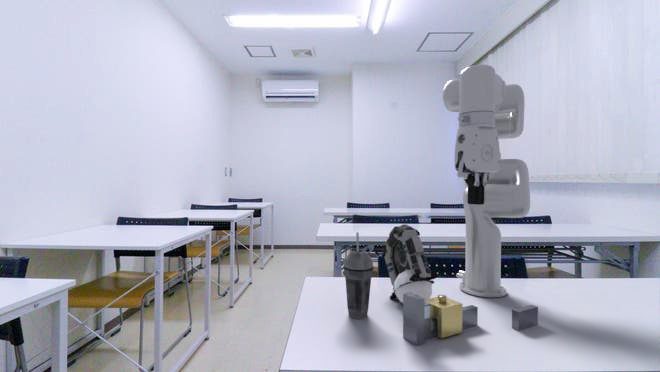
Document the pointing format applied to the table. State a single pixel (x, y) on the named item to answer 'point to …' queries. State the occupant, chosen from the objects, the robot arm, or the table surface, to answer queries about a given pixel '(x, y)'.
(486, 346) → the table surface
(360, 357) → the table surface
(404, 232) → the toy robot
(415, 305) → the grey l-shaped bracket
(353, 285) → the beverage cup
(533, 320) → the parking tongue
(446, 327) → the tan box with knob
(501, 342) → the table surface
